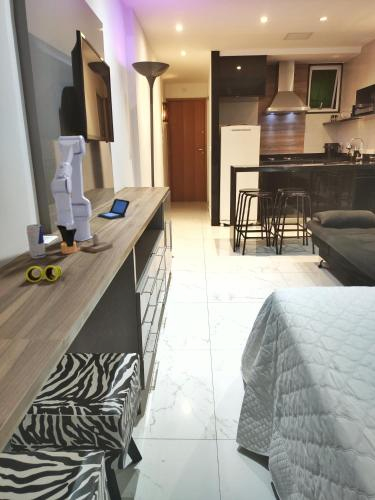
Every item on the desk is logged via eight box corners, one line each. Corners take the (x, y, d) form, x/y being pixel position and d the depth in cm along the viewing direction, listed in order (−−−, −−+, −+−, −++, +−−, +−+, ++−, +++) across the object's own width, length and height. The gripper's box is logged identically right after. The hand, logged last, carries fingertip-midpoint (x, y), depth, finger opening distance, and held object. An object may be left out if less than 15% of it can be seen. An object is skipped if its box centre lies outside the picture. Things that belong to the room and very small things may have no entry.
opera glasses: (63, 278, 117) (61, 263, 116) (58, 281, 112) (57, 265, 111) (32, 280, 116) (30, 264, 116) (26, 283, 111) (24, 267, 110)
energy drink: (49, 255, 139) (44, 224, 136) (39, 259, 135) (34, 227, 131) (37, 254, 141) (33, 223, 138) (27, 258, 136) (22, 226, 133)
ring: (58, 252, 142) (57, 243, 141) (70, 248, 147) (69, 240, 146) (68, 254, 140) (67, 245, 139) (79, 250, 144) (78, 242, 143)
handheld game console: (97, 216, 214) (95, 201, 212) (116, 213, 223) (115, 198, 220) (111, 220, 203) (110, 203, 201) (131, 216, 212) (130, 200, 209)
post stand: (80, 249, 145) (78, 234, 144) (96, 244, 153) (95, 230, 151) (96, 252, 141) (95, 237, 139) (112, 246, 148) (111, 232, 146)
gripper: (50, 208, 143) (54, 241, 147) (56, 213, 131) (61, 250, 134) (68, 206, 146) (72, 239, 150) (76, 211, 134) (80, 247, 137)
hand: (68, 244), depth 142 cm, fingers open, 7 cm apart
